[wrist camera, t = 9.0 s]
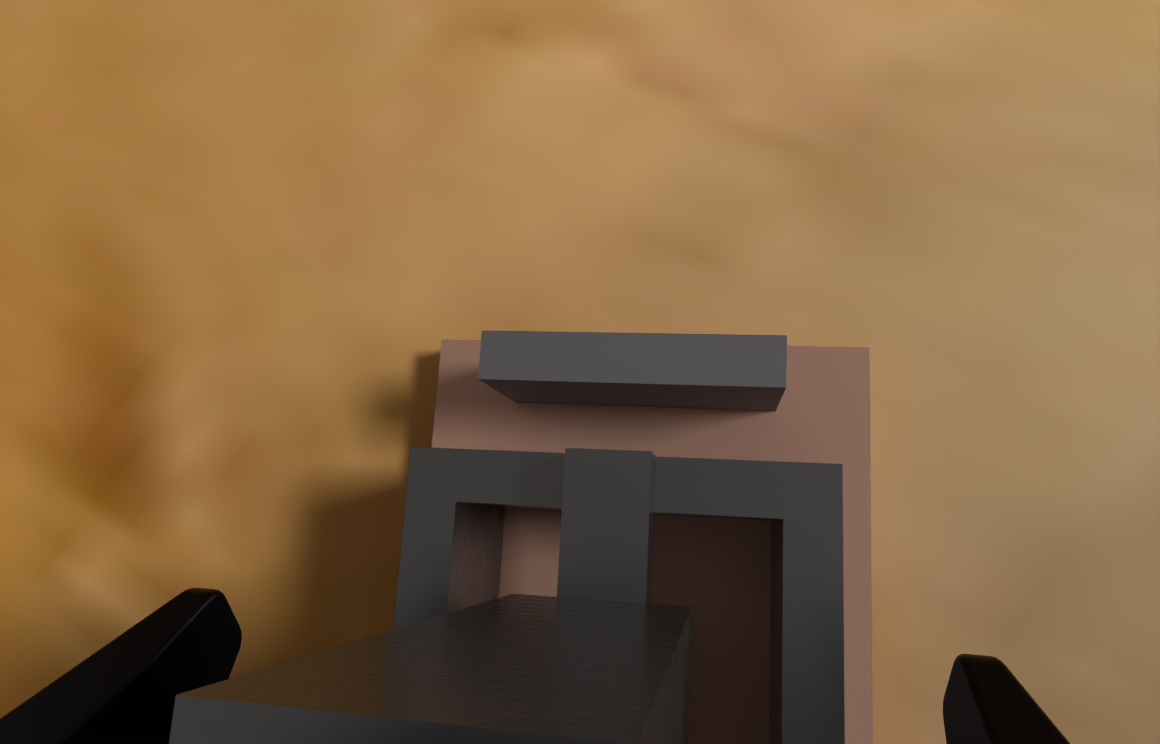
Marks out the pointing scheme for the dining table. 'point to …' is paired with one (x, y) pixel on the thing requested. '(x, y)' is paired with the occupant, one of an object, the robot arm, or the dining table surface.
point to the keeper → (688, 430)
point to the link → (556, 613)
